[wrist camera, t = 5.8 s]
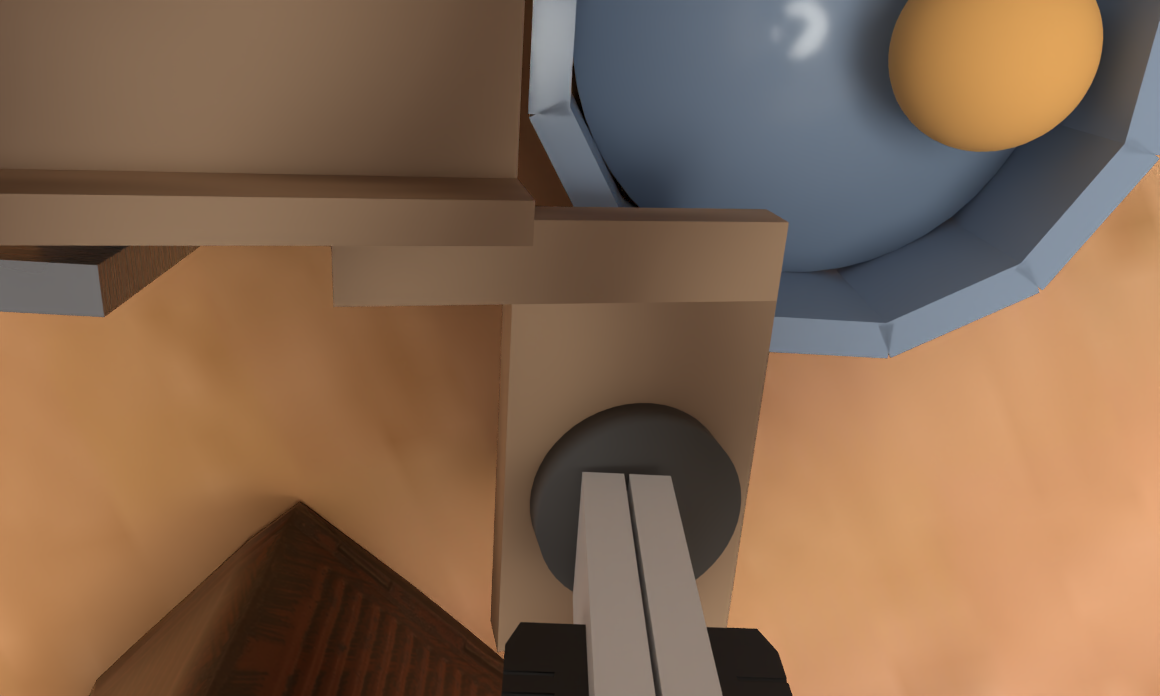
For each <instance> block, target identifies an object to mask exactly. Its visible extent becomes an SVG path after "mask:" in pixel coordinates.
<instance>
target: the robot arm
mask: <svg viewBox="0 0 1160 696" xmlns="http://www.w3.org/2000/svg"><path fill="white" fill-rule="evenodd" d="M786 679H787V678H786V675H785V672H784V669H783V666H782V663H781V660H780V657H779V654H778V652H777V651H776V649H775V648H774V647H773V646H772V645H771V644H770V643H769V642H768V641H767V639H766V638H765V637H764V636H763V635H762V634H761V633H760V632H759V631H758V629H746V628H721V627H706V623H705V619H704V615H703V611H702V606H701V602H700V598H699V594H698V589H697V585H696V581H695V577H694V572H693V568H692V564H691V560H690V555H689V551H688V547H687V543H686V538H685V534H684V530H683V526H682V521H681V517H680V513H679V509H678V504H677V500H676V496H675V492H674V487H673V483H672V479H671V476H661V475H640V474H629V481H628V491H627V490H626V483H625V476H624V474H619V473H597V472H582V483H581V496H580V509H579V522H578V535H577V548H576V561H575V574H574V587H573V624H560V623H535V622H520V623H519V625H518V626H517V628H516V629H515V631H514V632H513V634H512V635H511V636H510V638H509V639H508V641H507V642H506V644H505V653H504V666H503V680H502V693H501V696H792V693H791V690H790V687H789V684H788V683H787V681H786Z"/></svg>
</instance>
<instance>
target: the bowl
mask: <svg viewBox="0 0 1160 696" xmlns="http://www.w3.org/2000/svg"><path fill="white" fill-rule="evenodd" d="M907 1H908V0H533V15H532V37H531V59H530V82H529V104H528V114H530V115H529V119H530V121H531V123H532V125H533V127H534V129H535V131H536V133H537V135H538V137H539V139H540V141H541V143H542V145H543V147H544V149H545V151H546V153H547V155H548V157H549V159H550V161H551V163H552V165H553V167H554V169H555V171H556V173H557V175H558V177H559V179H560V181H561V183H562V185H563V187H564V189H565V191H566V193H567V195H568V197H569V198H570V200H571V202H572V204H573V206H574V207H631V208H637V207H636V206H634V205H633V204H631V203H630V202H628V201H627V200H625V199H624V198H622V196H621V194H620V192H619V190H618V188H617V186H616V184H615V182H614V179H613V177H612V175H611V173H612V174H613V176H614V177H615V178H616V180H617V181H618V182H619V184H620V185H621V186H622V188H623V189H624V190H625V192H626V193H627V194H628V196H629V197H630V198H631V199H632V200H633V201H634V202H635V203H636V204H637V205H638V206H639V207H640V208H714V209H767V210H769V211H770V212H772V213H774V214H775V215H777V216H779V217H781V218H782V219H784V220H786V221H787V222H789V225H788V232H787V238H786V245H785V251H784V258H783V264H782V271H781V277H780V284H779V290H778V297H777V303H776V310H775V316H774V323H773V329H772V336H771V342H770V349H769V352H780V353H799V354H817V355H835V356H854V357H872V358H888V355H889V356H890V357H894V356H896V355H898V354H900V353H903V352H905V351H907V350H910V349H912V348H914V347H916V346H919V345H921V344H923V343H925V342H928V341H930V340H932V339H935V338H937V337H939V336H941V335H944V334H946V333H948V332H951V331H953V330H955V329H957V328H960V327H962V326H964V325H967V324H969V323H971V322H973V321H976V320H978V319H980V318H983V317H985V316H987V315H989V314H992V313H994V312H996V311H998V310H1001V309H1003V308H1005V307H1008V306H1010V305H1012V304H1014V303H1017V302H1019V301H1021V300H1024V299H1026V298H1028V297H1030V296H1033V295H1035V294H1037V293H1039V289H1038V288H1040V289H1041V290H1043V289H1044V288H1045V287H1046V286H1047V285H1048V284H1049V282H1050V281H1051V280H1052V279H1053V278H1054V277H1055V276H1056V275H1057V273H1058V272H1059V271H1060V270H1061V269H1062V268H1063V267H1064V266H1065V264H1066V263H1067V262H1068V261H1069V260H1070V259H1071V258H1072V257H1073V255H1074V254H1075V253H1076V252H1077V251H1078V250H1079V249H1080V248H1081V246H1082V245H1083V244H1084V243H1085V242H1086V241H1087V240H1088V239H1089V237H1090V236H1091V235H1092V234H1093V233H1094V232H1095V231H1096V230H1097V228H1098V227H1099V226H1100V225H1101V224H1102V223H1103V222H1104V221H1105V219H1106V218H1107V217H1108V216H1109V215H1110V214H1111V213H1112V212H1113V210H1114V209H1115V208H1116V207H1117V206H1118V205H1119V204H1120V203H1121V201H1122V200H1123V199H1124V198H1125V197H1126V196H1127V195H1128V194H1129V192H1130V191H1131V190H1132V189H1133V188H1134V187H1135V186H1136V185H1137V183H1138V182H1139V181H1140V180H1141V179H1142V178H1143V177H1144V176H1145V174H1146V173H1147V172H1148V171H1149V170H1150V169H1151V168H1152V167H1153V165H1154V164H1155V163H1156V162H1157V161H1158V160H1159V158H1158V157H1157V156H1155V155H1160V0H1096V2H1097V4H1098V7H1099V10H1100V14H1101V18H1102V25H1103V46H1102V53H1101V58H1100V62H1099V66H1098V69H1097V72H1096V74H1095V77H1094V79H1093V81H1092V84H1091V85H1090V87H1089V89H1088V91H1087V93H1086V94H1085V96H1084V97H1083V99H1082V100H1081V102H1080V103H1079V104H1078V105H1077V107H1076V108H1075V109H1074V110H1073V111H1072V112H1071V113H1070V114H1069V115H1068V116H1067V117H1066V118H1065V119H1064V120H1063V121H1062V122H1060V123H1059V124H1058V125H1057V126H1055V127H1054V128H1053V129H1052V130H1050V131H1049V132H1047V133H1045V134H1044V135H1042V136H1040V137H1038V138H1036V139H1034V140H1032V141H1030V142H1028V143H1026V144H1023V145H1020V146H1017V147H1014V148H1009V149H1005V150H1000V151H989V152H974V151H965V150H960V149H956V148H952V147H949V146H946V145H944V144H942V143H940V142H937V141H935V140H933V139H931V138H930V137H928V136H927V135H925V134H924V133H923V132H921V131H920V130H919V129H918V128H917V127H916V126H915V125H913V124H912V123H911V121H910V120H909V119H908V118H907V116H906V115H905V114H904V112H903V111H902V109H901V108H900V106H899V104H898V102H897V100H896V98H895V95H894V92H893V89H892V86H891V81H890V77H889V68H888V54H889V46H890V41H891V37H892V33H893V30H894V27H895V24H896V21H897V19H898V17H899V15H900V13H901V11H902V9H903V8H904V6H905V4H906V3H907ZM573 61H574V69H575V76H576V84H577V89H578V93H579V96H580V100H581V104H582V108H583V112H584V116H585V119H586V121H587V123H586V121H585V119H584V117H583V115H582V113H581V111H580V109H579V107H578V104H577V102H576V100H575V98H574V96H573V94H572V92H571V83H572V66H573ZM587 124H588V125H587ZM588 126H589V127H588ZM590 131H591V132H590ZM605 162H606V163H605ZM606 164H607V165H606ZM607 166H608V167H607ZM608 168H609V169H610V171H611V173H610V171H609V169H608Z"/></svg>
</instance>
